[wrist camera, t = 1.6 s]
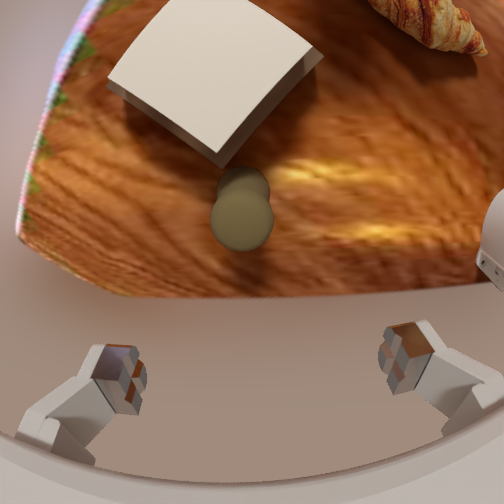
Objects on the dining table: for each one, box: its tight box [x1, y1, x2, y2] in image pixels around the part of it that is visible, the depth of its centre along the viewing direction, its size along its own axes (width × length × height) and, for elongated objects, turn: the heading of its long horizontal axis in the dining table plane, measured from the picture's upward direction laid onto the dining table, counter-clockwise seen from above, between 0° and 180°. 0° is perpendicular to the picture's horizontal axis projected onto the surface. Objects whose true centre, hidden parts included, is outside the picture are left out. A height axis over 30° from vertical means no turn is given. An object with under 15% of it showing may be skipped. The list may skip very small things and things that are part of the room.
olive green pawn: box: [210, 166, 274, 251], centre depth 27 cm, size 6×6×11 cm
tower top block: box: [108, 0, 312, 153], centre depth 20 cm, size 12×12×4 cm
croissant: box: [367, 0, 488, 56], centre depth 19 cm, size 21×10×8 cm
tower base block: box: [106, 46, 324, 169], centre depth 24 cm, size 15×15×5 cm
